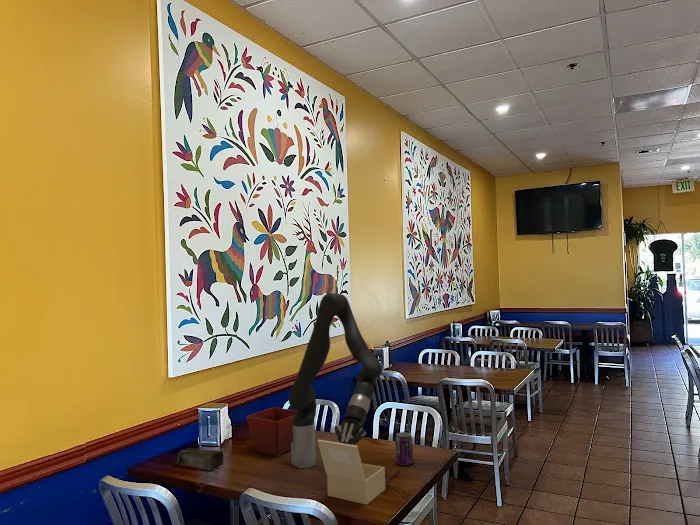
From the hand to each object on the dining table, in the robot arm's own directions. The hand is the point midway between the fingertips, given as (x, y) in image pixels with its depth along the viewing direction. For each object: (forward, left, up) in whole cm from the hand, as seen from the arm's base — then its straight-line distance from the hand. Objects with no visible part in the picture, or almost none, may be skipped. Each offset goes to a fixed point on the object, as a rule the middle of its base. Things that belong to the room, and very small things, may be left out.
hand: (342, 454), depth 174 cm
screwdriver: (+5, +27, -17) cm, 33 cm away
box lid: (-1, 0, -2) cm, 2 cm away
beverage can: (+2, +44, -17) cm, 47 cm away
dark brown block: (-75, +3, -17) cm, 77 cm away
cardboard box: (-1, +10, -17) cm, 20 cm away
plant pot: (-58, +33, -17) cm, 68 cm away
